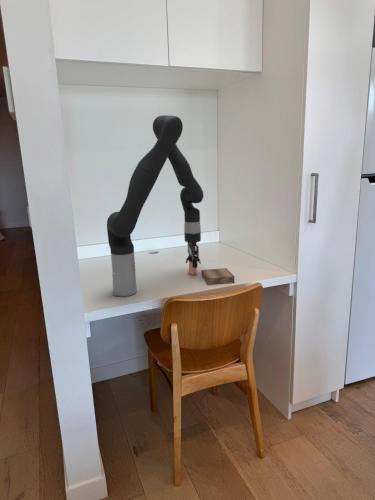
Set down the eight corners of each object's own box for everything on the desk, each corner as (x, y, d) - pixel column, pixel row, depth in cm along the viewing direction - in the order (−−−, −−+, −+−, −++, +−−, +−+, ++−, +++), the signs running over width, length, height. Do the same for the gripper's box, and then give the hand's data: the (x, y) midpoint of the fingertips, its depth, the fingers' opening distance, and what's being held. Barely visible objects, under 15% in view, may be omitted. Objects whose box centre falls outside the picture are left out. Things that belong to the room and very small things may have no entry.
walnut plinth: (207, 285, 149) (207, 278, 148) (201, 276, 160) (201, 270, 159) (234, 282, 151) (234, 276, 150) (226, 274, 162) (226, 268, 161)
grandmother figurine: (184, 275, 162) (184, 249, 159) (185, 272, 166) (185, 247, 163) (200, 275, 161) (200, 249, 158) (201, 273, 165) (201, 247, 161)
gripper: (181, 228, 164) (182, 261, 168) (187, 234, 151) (188, 270, 155) (197, 227, 166) (197, 260, 170) (204, 233, 152) (204, 268, 156)
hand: (193, 264), depth 162 cm, fingers open, 8 cm apart
